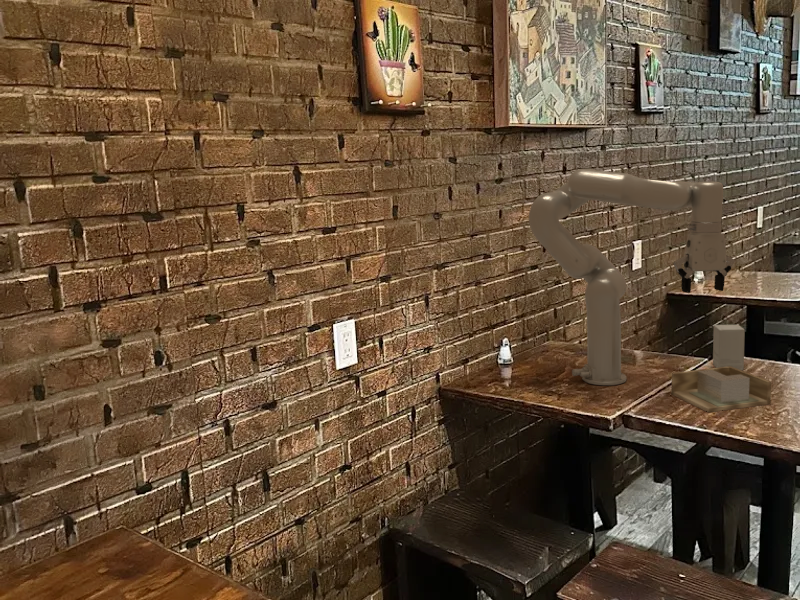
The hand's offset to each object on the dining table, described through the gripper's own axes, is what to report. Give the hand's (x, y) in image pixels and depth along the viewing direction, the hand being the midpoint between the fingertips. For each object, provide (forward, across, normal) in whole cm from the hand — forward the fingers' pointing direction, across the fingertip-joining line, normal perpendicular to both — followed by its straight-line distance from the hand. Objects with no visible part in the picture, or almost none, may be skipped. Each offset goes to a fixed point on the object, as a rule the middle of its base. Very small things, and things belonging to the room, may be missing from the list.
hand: (702, 291), depth 194 cm
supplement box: (+28, +20, +15) cm, 37 cm away
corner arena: (+27, 0, -10) cm, 29 cm away
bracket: (+26, 0, -12) cm, 29 cm away
